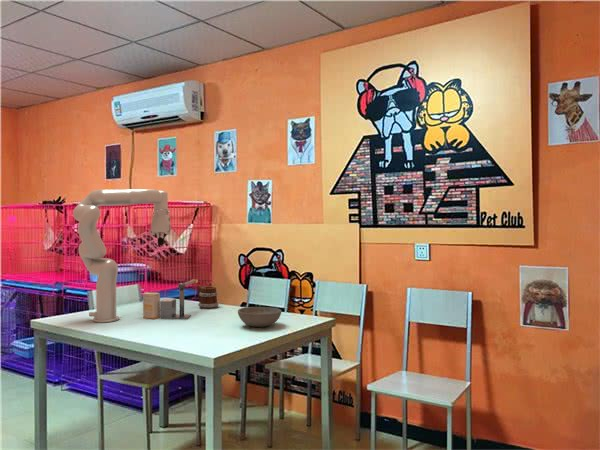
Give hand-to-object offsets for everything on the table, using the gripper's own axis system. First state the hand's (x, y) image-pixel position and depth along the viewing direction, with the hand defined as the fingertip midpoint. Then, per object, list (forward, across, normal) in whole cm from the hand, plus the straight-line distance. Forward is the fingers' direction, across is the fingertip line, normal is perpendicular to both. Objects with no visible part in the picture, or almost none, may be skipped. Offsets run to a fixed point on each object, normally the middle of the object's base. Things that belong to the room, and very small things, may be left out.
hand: (160, 245), depth 272 cm
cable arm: (+21, -18, +11) cm, 30 cm away
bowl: (+37, -60, +38) cm, 80 cm away
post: (+37, -17, +19) cm, 45 cm away
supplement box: (+37, -1, +19) cm, 42 cm away
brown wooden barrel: (+37, -23, -12) cm, 46 cm away
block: (+37, -10, +18) cm, 42 cm away
